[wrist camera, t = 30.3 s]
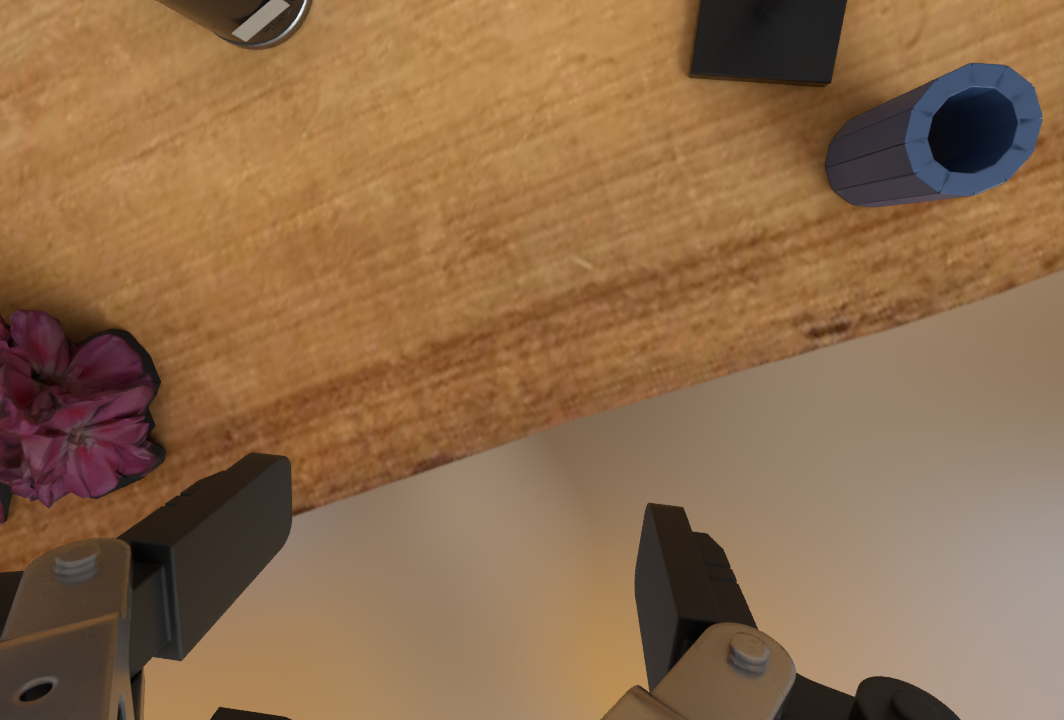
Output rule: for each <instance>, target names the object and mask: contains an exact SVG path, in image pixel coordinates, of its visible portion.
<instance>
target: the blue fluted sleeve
mask: <svg viewBox="0 0 1064 720" xmlns="http://www.w3.org/2000/svg"><path fill="white" fill-rule="evenodd" d="M1042 117H1043V116H1042V113H1041V109H1040V106H1039V102H1038V99H1037V95H1036V92H1035V88H1034V87H1032V84H1031V83H1030V82H1028V81H1027V80H1026V79H1024V78H1023V77H1022V76H1021V75H1019V74H1018V73H1017V72H1015V71H1014V70H1013V69H1012V68H1010V67H1009V66H1006V65H998V64H983V63H969V64H967V65H965V66H963V67H961V68H958V69H956V70H954V71H952V72H950V73H947V74H945V75H943V76H941V77H939V78H937V79H935V80H932V81H930V82H928V83H926V84H924V85H922V86H920V87H918V88H916V89H913V90H911V91H909V92H907V93H905V94H903V95H901V96H899V97H897V98H894V99H892V100H890V101H888V102H886V103H884V104H882V105H880V106H878V107H875V108H873V109H871V110H869V111H867V112H865V113H863V114H861V115H858V116H856V117H854V118H852V119H850V120H848V121H847V122H846V123H845V125H844V126H843V127H842V128H841V130H840V131H839V132H838V133H837V134H836V136H835V137H834V138H833V139H832V141H831V143H830V146H829V151H828V156H827V160H826V165H825V167H826V172H827V175H828V178H829V180H830V183H831V186H832V189H833V190H834V192H835V193H837V194H838V195H839V196H841V197H842V198H843V199H845V200H846V201H847V202H849V203H850V204H853V205H856V206H867V207H883V206H891V205H900V204H908V203H917V202H925V201H934V200H943V199H951V198H960V197H968V196H973V195H977V194H979V193H981V192H984V191H986V190H989V189H991V188H993V187H996V186H998V185H1001V184H1003V183H1005V181H1008V180H1009V179H1010V178H1011V177H1012V176H1013V175H1014V174H1015V172H1016V171H1017V170H1018V169H1019V168H1020V167H1021V166H1022V165H1023V164H1024V163H1025V161H1026V160H1027V159H1028V158H1029V157H1030V156H1031V155H1032V154H1031V153H1033V152H1034V148H1035V145H1036V141H1037V138H1038V134H1039V131H1040V127H1041V124H1042V120H1043V119H1040V118H1042Z"/></svg>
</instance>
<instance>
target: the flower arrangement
mask: <svg viewBox="0 0 1064 720" xmlns="http://www.w3.org/2000/svg"><path fill="white" fill-rule="evenodd" d="M160 383H161V381H160V379H159V377H158V374H157V372H156V369H155V367H154V364H153V362H152V359H151V357H150V355H149V354H148V353H147V352H146V351H145V350H144V348H143V347H142V346H141V345H140V344H139V343H138V342H137V341H136V339H135V338H134V337H133V336H132V335H131V334H130V333H129V332H125V331H121V330H117V329H113V328H112V329H109V330H105V331H101V332H98V333H95V334H94V335H92V336H90V337H88V338H87V339H85V340H83V341H81V342H80V343H78V344H75V343H74V342H73V341H72V340H71V339H69V338H68V337H67V336H65V333H64V331H63V329H62V327H61V325H60V322H59V320H58V319H56V318H54V317H53V316H51V315H49V314H48V313H46V312H44V311H33V310H20V309H18V310H17V311H15V312H14V313H13V314H12V315H11V316H10V326H9V325H8V324H6V323H5V321H4V320H3V318H2V316H1V314H0V524H2V523H5V522H6V521H7V516H8V509H9V505H10V501H11V496H12V493H14V494H17V495H19V496H22V497H24V498H30V500H31V501H34V500H37V499H38V500H39V501H41V502H42V503H43V504H44V505H45V506H47V507H48V508H50V507H51V506H52V504H53V503H54V502H56V501H57V500H59V499H61V498H62V497H64V496H65V495H67V494H69V493H71V492H72V493H74V494H76V495H78V496H80V497H82V498H86V497H90V498H94V499H98V498H100V497H102V496H105V495H107V494H109V493H111V492H114V491H116V490H118V489H120V488H122V487H125V486H127V485H129V484H132V483H134V482H136V481H138V480H141V479H142V478H144V477H145V476H146V475H147V474H149V473H150V472H151V471H153V470H154V469H155V468H156V467H158V466H159V465H160V464H161V463H163V462H164V458H165V453H166V450H164V449H163V448H162V447H160V446H158V445H156V444H154V443H152V442H150V441H148V440H147V437H148V434H149V433H150V432H151V430H152V429H153V428H154V427H155V423H154V421H153V418H152V416H151V413H150V411H149V409H148V407H149V405H150V404H151V402H152V401H153V399H154V398H155V396H156V395H157V392H158V389H159V386H160Z"/></svg>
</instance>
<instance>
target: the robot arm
mask: <svg viewBox="0 0 1064 720" xmlns="http://www.w3.org/2000/svg"><path fill="white" fill-rule="evenodd" d="M156 1H157V2H159V3H161V4H163V5H165V6H167V7H168V8H170V9H172V10H174V11H176V12H178V13H179V14H181V15H183V16H185V17H187V18H189V19H190V20H192V21H194V22H196V23H197V24H199V25H201V26H203V27H205V28H207V29H209V30H210V31H212V32H213V33H215V34H216V35H217V36H219V37H220V38H222V39H224V40H226V41H228V42H230V43H231V44H233V45H236V46H238V47H242V48H246V49H254V50H259V49H267V48H271V47H274V46H276V45H279V44H281V43H282V42H284V41H286V40H287V39H288V38H290V37H291V36H292V35H293V34H294V33H295V32H296V31H297V30H298V29H299V27H300V26H301V25H302V23H303V21H304V20H305V18H306V16H307V14H308V12H309V9H310V6H311V3H312V0H156ZM291 524H292V489H291V464H290V461H289V459H288V458H287V457H286V456H280V455H272V454H264V453H256V452H252V453H249V454H248V455H246V456H245V457H243V458H242V459H241V460H239V461H238V462H237V463H235V464H234V465H232V466H231V467H230V468H228V469H227V470H226V471H221V472H219V473H216V474H214V475H211V476H208V477H206V478H203V479H201V480H198V481H197V482H196V483H194V484H193V485H191V486H190V487H189V488H187V489H186V490H184V491H183V492H181V494H180V496H176V497H174V498H173V499H171V500H170V501H169V502H167V503H166V505H165V507H163V506H161V507H160V508H159V509H157V510H156V511H154V512H153V513H151V514H150V515H149V516H147V517H146V518H144V519H143V520H141V521H140V522H139V523H137V524H136V525H134V526H133V527H131V528H130V529H129V530H127V531H126V532H124V533H123V534H121V535H120V536H119V537H117V538H116V539H115V538H91V539H85V540H80V541H75V542H72V543H68V544H65V545H62V546H60V547H57V548H55V549H53V550H50V551H48V552H46V553H45V554H43V555H41V556H39V557H38V558H36V559H35V560H34V561H33V562H31V563H30V564H29V565H28V566H27V568H26V569H25V571H15V572H2V573H0V720H144V694H145V677H144V668H143V667H144V666H145V665H146V663H147V662H148V661H149V660H150V659H151V658H152V657H157V658H164V659H170V660H177V661H182V660H183V659H184V658H185V657H186V655H187V654H188V653H189V652H190V651H191V650H192V649H193V648H194V647H195V645H196V644H197V643H198V642H199V641H200V640H201V639H202V637H203V636H204V635H205V634H206V633H207V632H208V631H209V630H210V628H211V627H212V626H213V625H214V624H215V623H216V622H217V620H218V619H219V618H220V617H221V616H222V615H223V614H224V613H225V612H226V610H227V609H228V608H229V607H230V606H231V605H232V604H233V603H234V601H235V600H236V599H237V598H238V597H239V596H240V595H241V594H242V592H243V591H244V590H245V589H246V588H247V587H248V585H250V583H251V582H252V581H253V580H254V579H255V578H256V577H257V576H258V574H259V573H260V572H261V571H262V570H263V569H264V568H265V566H266V565H267V564H268V563H269V562H270V561H271V560H272V559H273V557H274V556H275V555H276V554H277V553H278V552H279V551H280V550H281V548H282V547H283V546H284V544H285V542H286V540H287V538H288V536H289V533H290V529H291ZM635 599H636V605H637V611H638V618H639V625H640V632H641V638H642V645H643V651H644V658H645V665H646V671H647V678H648V685H649V691H650V693H649V692H648V691H646V690H645V689H644V688H642V687H641V686H639V685H636V686H633V687H632V688H630V689H629V690H628V691H627V692H626V693H625V694H624V695H623V696H622V697H621V698H620V699H619V700H618V701H617V703H616V704H615V705H614V706H613V707H612V708H611V709H610V710H609V711H608V712H607V714H605V715H604V717H603V718H602V719H601V720H960V719H959V717H958V716H957V715H956V714H955V713H954V712H953V711H952V710H950V709H949V708H948V707H947V706H946V705H945V704H943V703H942V702H941V701H939V700H938V699H937V698H935V697H934V696H932V695H931V694H929V693H927V692H926V691H924V690H922V689H920V688H918V687H916V686H914V685H912V684H909V683H907V682H904V681H901V680H898V679H894V678H890V677H882V676H880V677H879V676H875V677H870V678H867V679H865V680H863V681H862V682H861V683H860V684H859V686H858V689H857V692H856V695H855V697H853V696H851V695H848V694H845V693H843V692H840V691H838V690H835V689H832V688H830V687H827V686H824V685H822V684H819V683H816V682H814V681H812V680H809V679H807V678H805V677H803V676H801V675H800V674H798V673H796V669H795V665H794V663H793V660H792V658H791V657H790V655H789V654H788V652H786V650H785V649H784V648H783V647H782V646H781V645H780V644H779V643H778V642H777V641H775V640H774V639H773V638H771V637H770V636H768V635H767V634H765V633H763V632H761V631H759V630H758V628H757V626H756V623H755V621H754V619H753V616H752V614H751V612H750V610H749V607H748V605H747V603H746V600H745V598H744V596H743V594H742V591H741V589H740V587H739V585H738V584H737V580H736V577H735V575H734V573H733V571H732V569H730V564H729V562H728V559H727V557H726V554H725V552H724V550H723V548H721V547H720V546H719V545H718V544H717V543H716V542H715V541H714V540H713V539H712V538H711V537H710V536H709V535H708V534H706V533H699V532H692V530H691V527H690V524H689V521H688V518H687V516H686V513H685V510H684V508H683V507H678V506H671V505H662V504H655V503H648V504H647V506H646V510H645V514H644V520H643V526H642V532H641V538H640V545H639V550H638V556H637V562H636V569H635ZM210 720H291V719H289V718H287V717H283V716H276V715H269V714H263V713H257V712H250V711H243V710H237V709H230V708H223V707H219V708H218V710H217V711H216V712H215V714H214V715H213V716H212V718H211V719H210Z"/></svg>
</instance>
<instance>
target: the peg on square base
mask: <svg viewBox="0 0 1064 720" xmlns="http://www.w3.org/2000/svg"><path fill="white" fill-rule="evenodd" d="M846 3H847V0H700V1H699V8H698V15H697V22H696V29H695V36H694V43H693V50H692V57H691V64H690V71H689V77H690V78H702V79H716V80H731V81H746V82H760V83H775V84H790V85H805V86H819V87H825V86H827V85H828V84H830V83H831V80H832V74H833V69H834V64H835V59H836V54H837V49H838V44H839V39H840V34H841V29H842V24H843V18H844V13H845V8H846Z"/></svg>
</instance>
